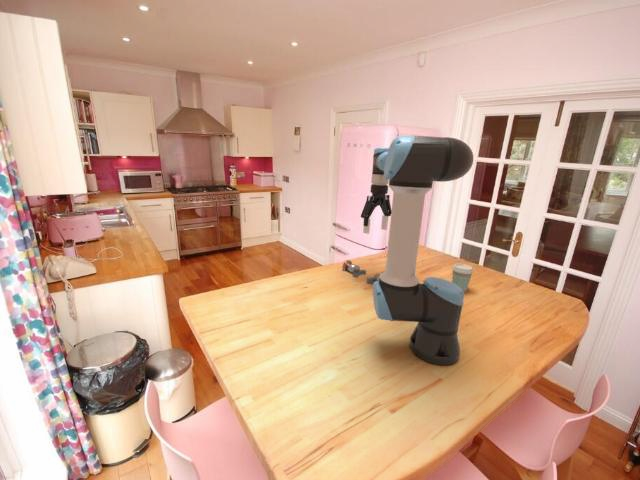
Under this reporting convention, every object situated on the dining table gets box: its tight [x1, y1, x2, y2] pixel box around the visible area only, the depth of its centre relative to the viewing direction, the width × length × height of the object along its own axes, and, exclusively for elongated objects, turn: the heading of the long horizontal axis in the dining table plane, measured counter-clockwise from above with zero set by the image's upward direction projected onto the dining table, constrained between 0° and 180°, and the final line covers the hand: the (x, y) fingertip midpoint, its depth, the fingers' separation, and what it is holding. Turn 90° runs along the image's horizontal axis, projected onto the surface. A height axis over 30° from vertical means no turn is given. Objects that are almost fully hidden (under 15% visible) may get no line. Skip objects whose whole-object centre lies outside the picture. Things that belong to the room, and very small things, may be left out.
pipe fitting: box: [341, 259, 381, 285], centre depth 143 cm, size 8×26×6 cm, turn 42°
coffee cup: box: [451, 263, 474, 294], centre depth 135 cm, size 8×8×12 cm
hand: (375, 231), depth 137 cm, fingers open, 13 cm apart
